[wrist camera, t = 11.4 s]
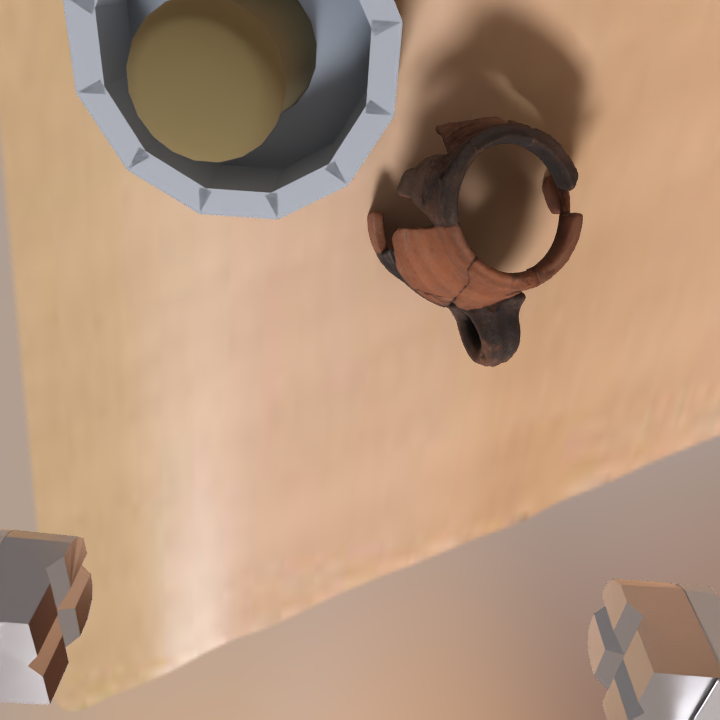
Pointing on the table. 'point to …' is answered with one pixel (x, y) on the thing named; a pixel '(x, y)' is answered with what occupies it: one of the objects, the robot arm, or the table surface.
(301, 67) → the cork
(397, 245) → the pottery mug
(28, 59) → the table surface
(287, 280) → the table surface
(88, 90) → the bowl
